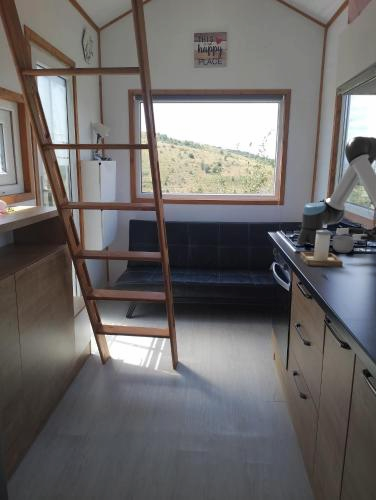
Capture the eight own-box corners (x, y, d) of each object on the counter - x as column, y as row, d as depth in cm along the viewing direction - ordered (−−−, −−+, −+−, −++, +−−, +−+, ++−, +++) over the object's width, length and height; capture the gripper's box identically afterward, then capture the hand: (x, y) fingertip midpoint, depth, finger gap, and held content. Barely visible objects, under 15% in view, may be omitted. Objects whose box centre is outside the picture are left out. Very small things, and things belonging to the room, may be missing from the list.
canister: (310, 257, 191) (313, 230, 188) (322, 257, 193) (325, 229, 189) (318, 261, 185) (321, 232, 181) (330, 261, 186) (334, 232, 183)
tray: (299, 256, 197) (300, 251, 197) (332, 258, 196) (332, 253, 196) (307, 265, 182) (307, 260, 181) (342, 267, 181) (342, 261, 180)
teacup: (354, 254, 204) (356, 240, 202) (332, 253, 206) (334, 238, 204) (349, 248, 218) (351, 234, 216) (328, 247, 220) (330, 233, 218)
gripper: (400, 247, 182) (360, 248, 177) (364, 235, 205) (329, 235, 200) (403, 231, 180) (363, 232, 175) (367, 221, 203) (331, 221, 198)
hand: (345, 234), depth 188 cm, fingers open, 13 cm apart
